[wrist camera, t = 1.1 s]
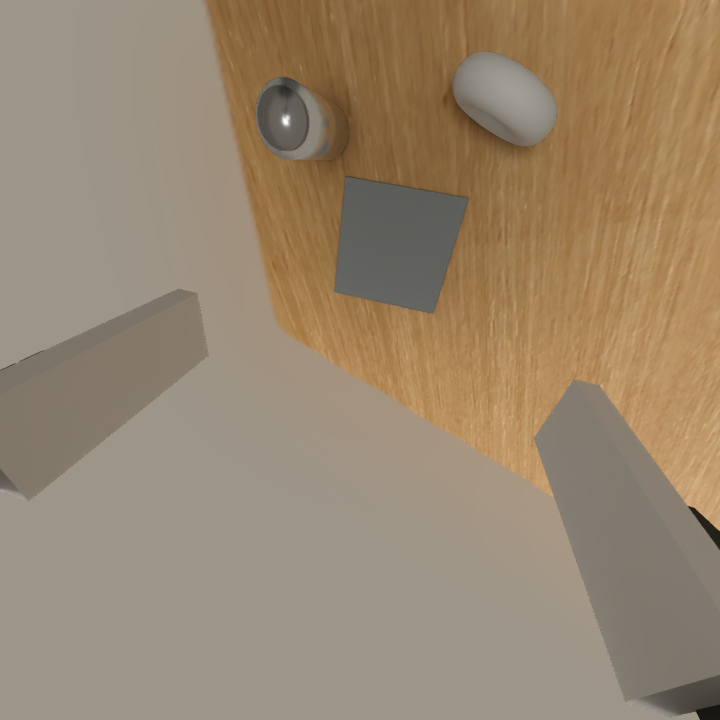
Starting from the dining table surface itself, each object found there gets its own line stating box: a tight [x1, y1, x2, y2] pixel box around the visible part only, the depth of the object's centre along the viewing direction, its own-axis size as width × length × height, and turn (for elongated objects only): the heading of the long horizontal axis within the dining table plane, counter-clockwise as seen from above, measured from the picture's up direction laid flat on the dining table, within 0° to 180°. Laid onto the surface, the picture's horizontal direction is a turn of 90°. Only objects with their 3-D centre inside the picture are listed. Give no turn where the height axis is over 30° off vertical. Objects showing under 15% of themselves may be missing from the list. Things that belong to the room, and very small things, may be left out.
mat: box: [334, 176, 468, 314], centre depth 40 cm, size 15×15×1 cm
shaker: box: [256, 77, 348, 161], centre depth 30 cm, size 6×6×12 cm
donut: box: [452, 51, 557, 146], centre depth 27 cm, size 10×4×10 cm, turn 62°
